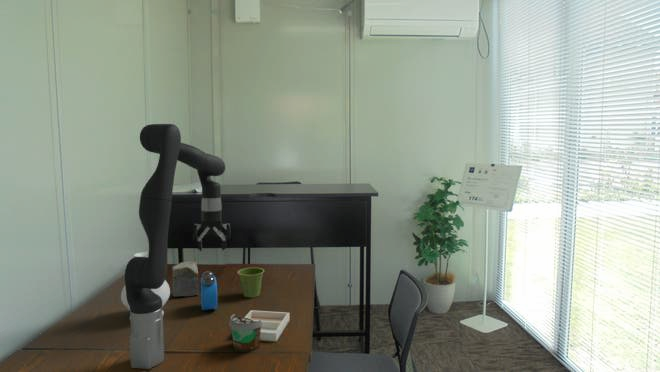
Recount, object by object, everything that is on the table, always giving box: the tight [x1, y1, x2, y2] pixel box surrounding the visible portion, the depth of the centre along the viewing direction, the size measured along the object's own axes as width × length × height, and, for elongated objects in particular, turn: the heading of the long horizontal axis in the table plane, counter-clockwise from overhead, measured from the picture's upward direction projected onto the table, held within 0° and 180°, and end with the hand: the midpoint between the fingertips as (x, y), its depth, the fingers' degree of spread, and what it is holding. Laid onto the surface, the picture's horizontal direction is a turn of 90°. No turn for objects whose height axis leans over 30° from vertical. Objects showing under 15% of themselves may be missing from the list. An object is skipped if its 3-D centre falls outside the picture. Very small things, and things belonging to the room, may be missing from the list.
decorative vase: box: [120, 251, 171, 317], centre depth 171 cm, size 18×18×25 cm
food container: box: [228, 313, 262, 353], centre depth 145 cm, size 12×6×10 cm, turn 62°
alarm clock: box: [199, 270, 218, 312], centre depth 179 cm, size 13×6×15 cm, turn 19°
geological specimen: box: [171, 260, 200, 298], centre depth 195 cm, size 11×6×15 cm, turn 115°
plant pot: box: [237, 267, 265, 299], centre depth 195 cm, size 12×12×11 cm
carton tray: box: [243, 309, 291, 342], centre depth 161 cm, size 18×16×3 cm
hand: (212, 250), depth 170 cm, fingers open, 8 cm apart
